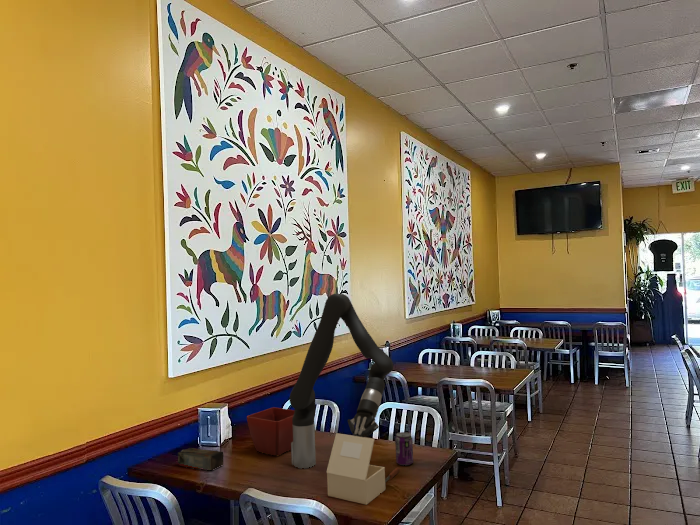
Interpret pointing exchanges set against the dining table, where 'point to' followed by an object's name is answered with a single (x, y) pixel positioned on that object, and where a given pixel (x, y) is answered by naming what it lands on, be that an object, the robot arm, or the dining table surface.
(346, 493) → the cardboard box
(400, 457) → the beverage can
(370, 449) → the box lid
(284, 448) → the plant pot
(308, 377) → the robot arm
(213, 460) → the dark brown block
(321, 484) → the dining table surface
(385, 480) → the screwdriver
